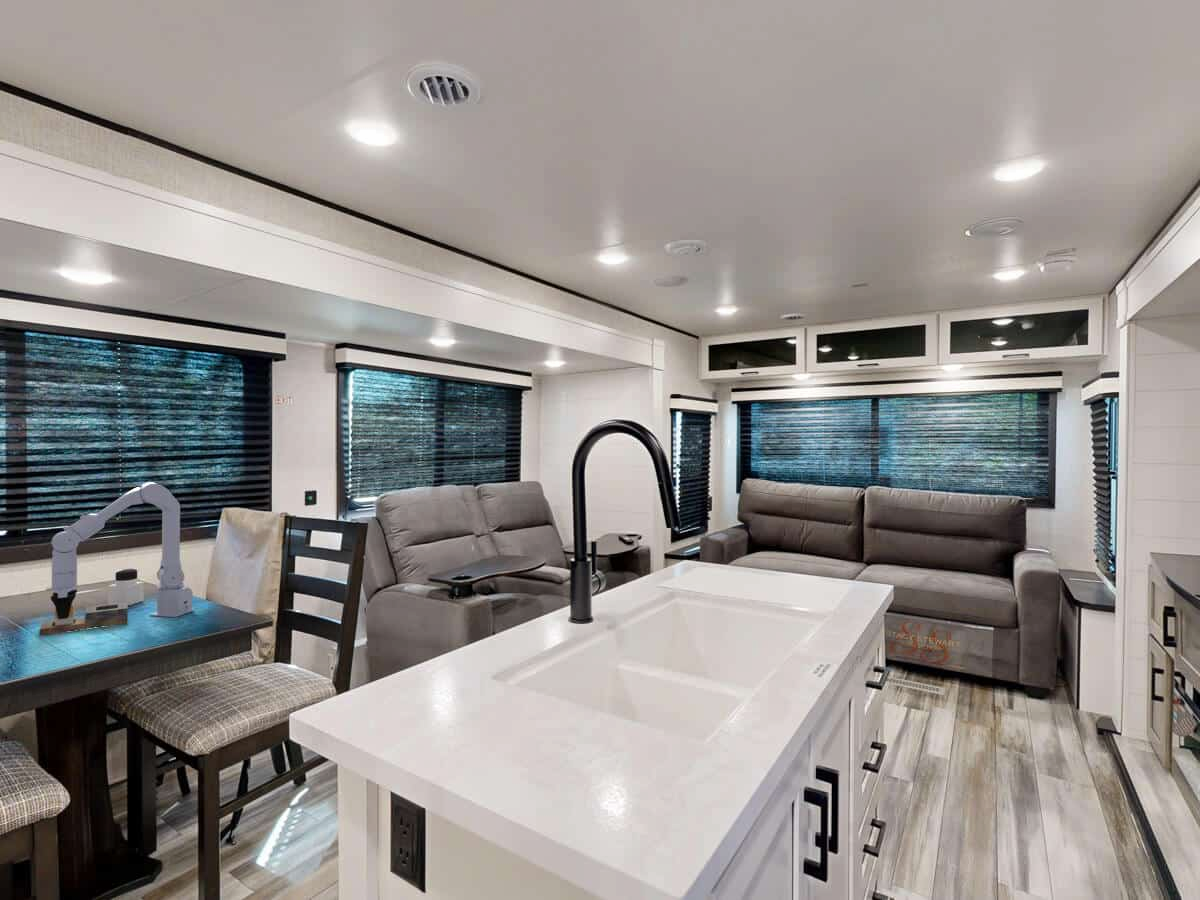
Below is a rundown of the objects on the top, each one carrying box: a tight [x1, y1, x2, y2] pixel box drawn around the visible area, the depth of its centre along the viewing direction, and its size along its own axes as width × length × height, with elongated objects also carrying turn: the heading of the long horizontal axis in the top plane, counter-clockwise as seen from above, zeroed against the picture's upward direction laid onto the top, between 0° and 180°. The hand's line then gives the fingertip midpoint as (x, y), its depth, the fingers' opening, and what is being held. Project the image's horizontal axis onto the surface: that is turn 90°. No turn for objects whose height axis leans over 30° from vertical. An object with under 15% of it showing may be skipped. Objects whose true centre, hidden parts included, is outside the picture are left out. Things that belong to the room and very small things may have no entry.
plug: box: [54, 601, 75, 626], centre depth 180 cm, size 4×4×6 cm
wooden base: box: [39, 602, 129, 637], centre depth 183 cm, size 20×9×5 cm, turn 129°
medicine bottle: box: [107, 568, 145, 606], centre depth 209 cm, size 7×7×12 cm
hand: (63, 616), depth 180 cm, fingers closed on plug, 4 cm apart
